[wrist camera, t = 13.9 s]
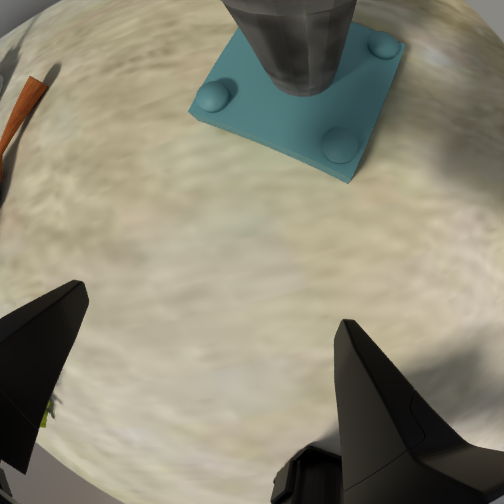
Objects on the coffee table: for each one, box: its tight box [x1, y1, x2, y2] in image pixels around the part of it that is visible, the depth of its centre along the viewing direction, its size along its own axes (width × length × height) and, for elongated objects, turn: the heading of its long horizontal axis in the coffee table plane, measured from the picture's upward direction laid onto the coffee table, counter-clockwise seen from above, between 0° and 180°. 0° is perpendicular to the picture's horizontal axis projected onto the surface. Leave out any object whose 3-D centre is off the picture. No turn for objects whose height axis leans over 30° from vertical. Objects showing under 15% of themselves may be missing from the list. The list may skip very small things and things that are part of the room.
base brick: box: [188, 22, 405, 184], centre depth 17 cm, size 12×12×3 cm
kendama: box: [0, 76, 48, 183], centre depth 24 cm, size 6×6×20 cm
